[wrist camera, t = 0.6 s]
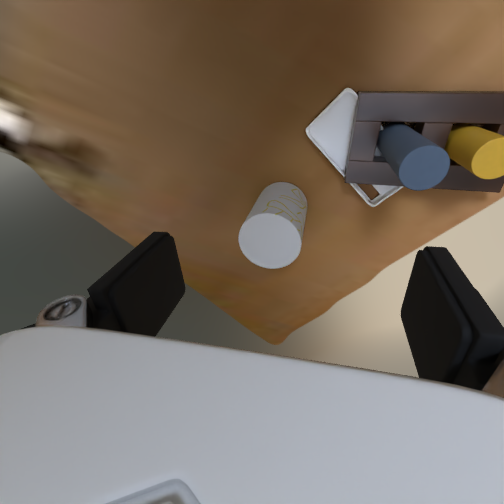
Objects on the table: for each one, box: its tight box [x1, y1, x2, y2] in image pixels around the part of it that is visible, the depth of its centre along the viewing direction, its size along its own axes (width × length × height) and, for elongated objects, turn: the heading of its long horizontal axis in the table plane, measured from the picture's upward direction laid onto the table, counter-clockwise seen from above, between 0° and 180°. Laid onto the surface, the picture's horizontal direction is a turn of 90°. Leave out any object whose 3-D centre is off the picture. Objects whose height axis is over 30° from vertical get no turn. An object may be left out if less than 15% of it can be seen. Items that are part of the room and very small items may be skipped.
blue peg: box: [377, 122, 450, 190], centre depth 31 cm, size 4×4×15 cm
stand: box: [344, 91, 504, 193], centre depth 35 cm, size 11×18×4 cm, turn 91°
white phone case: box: [306, 88, 403, 207], centre depth 38 cm, size 7×1×15 cm
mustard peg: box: [444, 123, 504, 179], centre depth 31 cm, size 4×4×10 cm
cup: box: [239, 182, 307, 269], centre depth 41 cm, size 8×8×12 cm
